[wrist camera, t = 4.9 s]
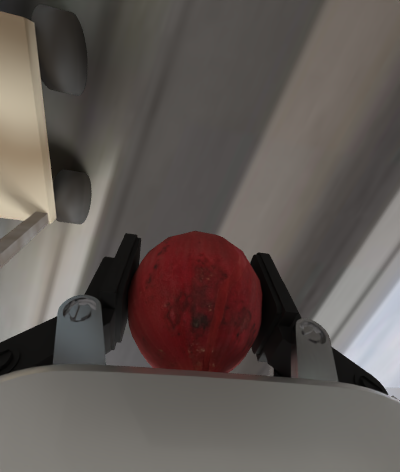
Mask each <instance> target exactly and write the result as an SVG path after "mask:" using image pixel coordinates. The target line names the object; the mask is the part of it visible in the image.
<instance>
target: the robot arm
mask: <svg viewBox="0 0 400 472" xmlns="http://www.w3.org/2000/svg"><path fill="white" fill-rule="evenodd" d="M140 247H141V238H137V235H134V234H127V233H126V234H125V236H124V238H123V240H122V243H121V245H120V247H119V249H118V251H117V254H116V256H115V258H111V257H104V258H103V260H102V262H101V264H100V266H99V268H98V270H97V271H96V273H95V275H94V277H93V279H92V281H91V283H90V285H89V287H88V289H87V291H86V293H85V295H78V296H74V297H72V298H70V299H68V300H66V301H65V302H64V303H63V304H62V305H61V306H60V307H59V310H58V314H57V317H55V318H53V319H50V320H48V321H46V322H44V323H42V324H40V325H37V326H35V327H33V328H31V329H29V330H27V331H24V332H22V333H20V334H18V335H16V336H14V337H11V338H9V339H7V340H5V341H3V342H1V343H0V472H400V400H398V399H397V398H395V397H394V396H391V397H390V396H388V393H387V391H386V390H385V388H384V387H383V385H382V384H381V383H380V382H379V381H378V380H377V379H376V378H374V377H373V376H372V375H371V374H369V373H368V372H366V371H365V370H364V369H362V368H361V367H359V366H358V365H356V364H355V363H354V362H352V361H351V360H349V359H348V358H347V357H345V356H344V355H342V354H341V353H340V352H338V351H337V350H335V349H334V348H332V347H331V342H330V338H329V335H328V333H327V332H326V330H325V329H324V328H323V327H322V326H321V325H319V324H318V323H316V322H315V321H312V320H310V319H306V318H301V316H300V314H299V312H298V310H297V308H296V306H295V304H294V302H293V300H292V298H291V296H290V294H289V292H288V290H287V288H286V286H285V284H284V282H283V281H282V279H281V277H280V275H279V273H278V271H277V269H276V267H275V265H274V263H273V261H272V259H271V257H270V255H269V254H266V253H257V255H254V256H253V258H252V260H251V263H250V265H251V266H252V268H253V270H254V271H255V273H256V275H257V277H258V278H259V280H260V285H261V290H262V317H261V326H260V329H259V332H258V335H257V337H256V339H255V341H254V342H253V344H252V346H251V347H252V351H253V353H254V354H256V356H257V359H258V361H260V362H268V364H269V365H270V372H269V376H262V375H249V374H234V373H220V372H206V371H191V370H176V369H161V368H145V367H130V366H110V365H106V357H105V354H107V353H108V352H110V351H111V350H114V349H115V346H116V342H120V343H121V341H122V337H123V334H124V330H125V326H126V323H127V319H128V290H129V287H130V283H131V280H132V277H133V275H134V274H135V272H136V270H137V268H138V267H139V259H140Z"/></svg>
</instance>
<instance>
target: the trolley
mask: <svg viewBox="0 0 400 472" xmlns="http://www.w3.org/2000/svg"><path fill="white" fill-rule="evenodd" d="M41 79H42V81H43V82H44V84H45V85H46V86H47V87H48V88H49V89H51V90H54V91H59V92H63V93H68V94H73V95H77V96H79V95H81V94H82V93H83V91H84V88H85V85H86V80H87V51H86V43H85V38H84V34H83V30H82V27H81V24H80V22H79V20H78V18H77V17H76V15H75V14H74V13H72V12H69V11H65V10H61V9H58V8H54V7H50V6H46V5H42V4H40V5H37V6H36V7H35V9H34V11H33V14H32V18H31V21H30V20H28V19H26V18H24V17H21V16H17V15H13V14H9V13H5V12H1V11H0V218H7V219H15V220H23V222H22V223H21V224H19V225H18V226H17V227H16V228H14V229H13V230H12V231H10V232H9V233H8V234H7V235H5V236H4V237H3V238H2V239H0V269H1V268H2V267H3V266H4V265H5V264H6V263H7V262H8V261H9V260H10V259H11V258H12V257H13V256H14V255H15V254H17V253H18V252H19V251H20V250H21V249H22V248H23V247H24V246H25V245H26V244H27V243H28V242H29V241H30V240H31V239H32V238H33V237H34V236H36V235H37V234H38V233H39V232H40V231H41V230H42V229H43V228H44V227H45V226H46V225H47V224H51V223H52V222H53V221H54V220H55V219H56V220H57V221H59V222H67V223H74V224H82V223H83V222H84V221H85V220H86V218H87V215H88V213H89V209H90V204H91V182H90V179H89V176H88V175H87V174H86V173H82V172H76V171H70V170H61V171H60V172H59V173H58V174H57V175H56V177H55V179H54V182H52V174H51V165H50V156H49V147H48V139H47V130H46V121H45V112H44V103H43V95H42V86H41Z"/></svg>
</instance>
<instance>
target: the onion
mask: <svg viewBox="0 0 400 472" xmlns="http://www.w3.org/2000/svg"><path fill="white" fill-rule="evenodd" d="M261 317H262V290H261V285H260V280H259V278H258V277H257V275H256V273H255V271H254V270H253V268H252V266H251V265H250V263H249V261H248V260H247V258H246V256H245V255H244V253H243V251H241V250H240V249H239V248H237V247H236V246H234V245H233V244H231V243H230V242H229V241H227V240H226V239H224V238H223V237H221V236H218V235H214V234H209V233H203V232H198V231H193V232H189V233H184V234H180V235H176V236H172V237H168V238H167V239H165V240H164V241H163V242H161V243H160V244H159V245H157V246H156V247H155V248H153V249H152V250H150V251H149V252H148V254H147V255H146V256H145V258H144V259H143V260H142V262H141V263H140V265H139V267H138V268H137V270H136V272H135V274H134V275H133V277H132V280H131V283H130V287H129V290H128V321H129V327H130V330H131V333H132V337H133V338H134V340H135V342H136V344H137V346H138V348H139V350H140V352H141V353H142V355H143V356H144V358H145V359H146V360H147V362H148V363H149V364H150V365H151V366H152V367H153V368H161V369H176V370H191V371H206V372H220V373H228V372H230V371H231V370H233V369H234V368H235V367H236V366H237V365H239V364H240V362H241V361H242V360H243V359H244V357H245V356H246V355H247V353H248V351H249V349H250V348H251V346H252V344H253V342H254V341H255V339H256V337H257V335H258V332H259V329H260V326H261Z"/></svg>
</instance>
